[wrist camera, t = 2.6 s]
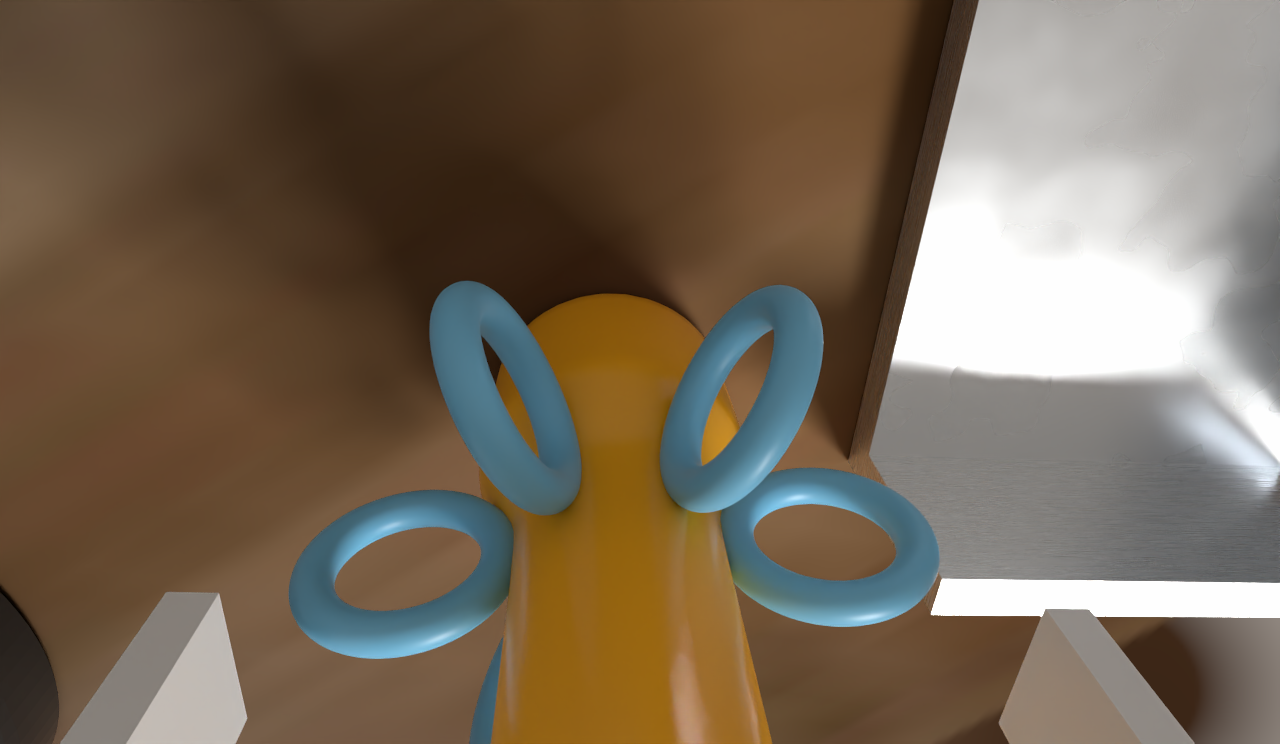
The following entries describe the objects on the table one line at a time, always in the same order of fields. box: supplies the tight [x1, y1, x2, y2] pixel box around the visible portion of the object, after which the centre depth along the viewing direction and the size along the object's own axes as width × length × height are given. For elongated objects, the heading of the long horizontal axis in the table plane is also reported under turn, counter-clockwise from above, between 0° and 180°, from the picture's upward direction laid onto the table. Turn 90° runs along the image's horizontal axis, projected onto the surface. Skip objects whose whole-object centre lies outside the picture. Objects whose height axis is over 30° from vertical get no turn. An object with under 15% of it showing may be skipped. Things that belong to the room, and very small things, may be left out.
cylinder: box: [289, 281, 940, 744], centre depth 14 cm, size 12×10×15 cm
